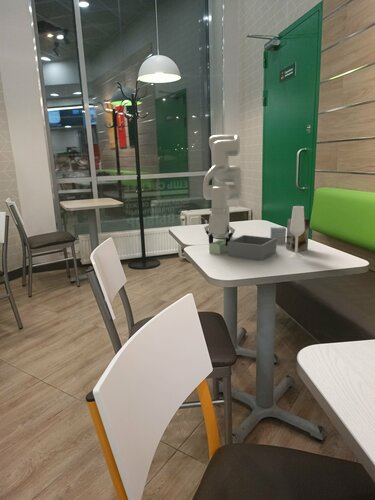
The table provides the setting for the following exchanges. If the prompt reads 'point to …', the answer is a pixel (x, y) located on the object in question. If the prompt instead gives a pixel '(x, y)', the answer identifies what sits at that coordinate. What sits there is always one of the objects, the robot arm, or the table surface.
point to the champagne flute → (297, 227)
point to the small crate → (218, 247)
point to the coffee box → (301, 239)
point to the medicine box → (278, 234)
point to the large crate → (252, 247)
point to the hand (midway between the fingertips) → (219, 244)
